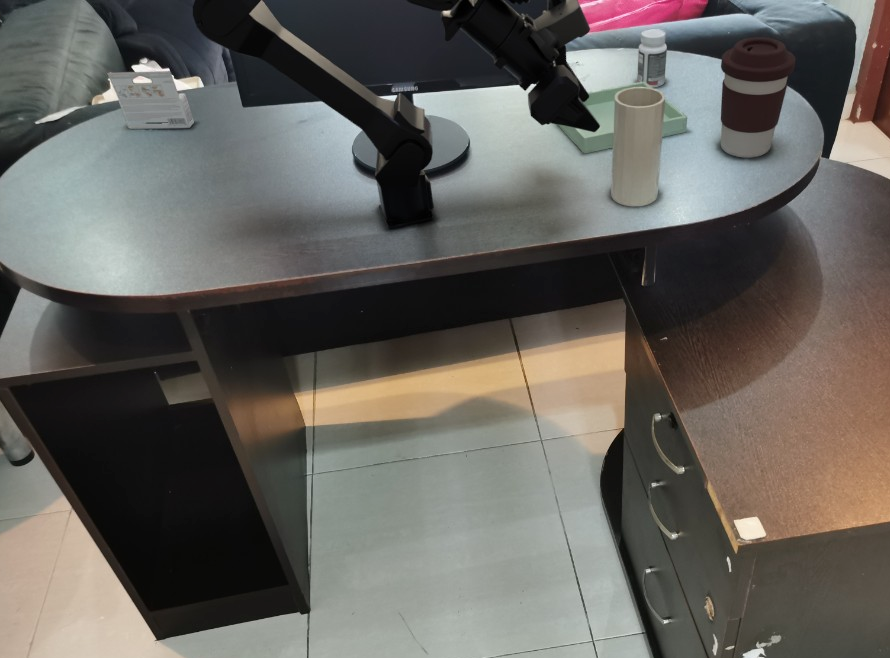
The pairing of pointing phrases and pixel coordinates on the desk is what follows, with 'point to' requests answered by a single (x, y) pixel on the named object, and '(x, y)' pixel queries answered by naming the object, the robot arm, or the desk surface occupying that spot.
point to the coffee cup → (753, 94)
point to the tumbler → (637, 145)
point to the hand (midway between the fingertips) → (592, 113)
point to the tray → (603, 112)
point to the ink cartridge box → (151, 100)
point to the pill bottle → (652, 57)
